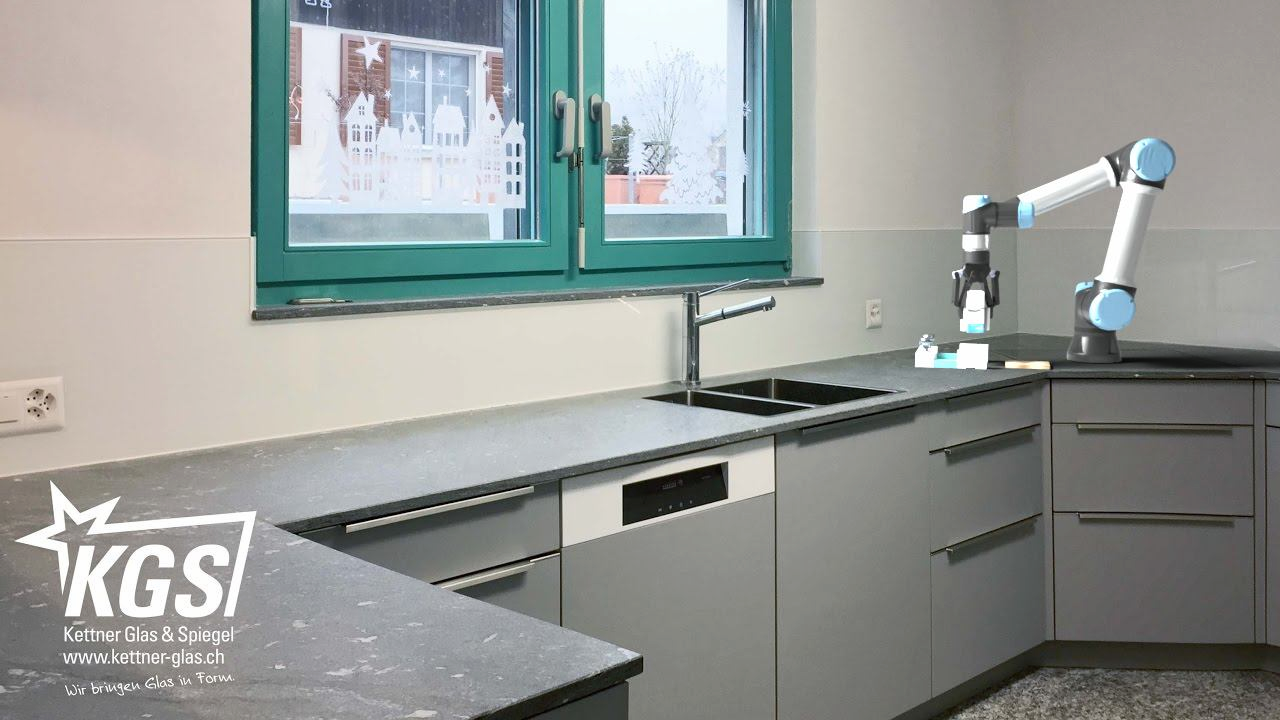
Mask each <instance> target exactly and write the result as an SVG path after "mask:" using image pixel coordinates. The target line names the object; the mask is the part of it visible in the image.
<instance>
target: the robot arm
mask: <svg viewBox="0 0 1280 720" xmlns="http://www.w3.org/2000/svg"><path fill="white" fill-rule="evenodd" d="M1176 157H1177V156H1176V153H1175V150H1174V149H1173V147H1172V146H1171V145H1170V143H1168V142H1167V141H1165V140H1163V139H1159V138H1156V137H1155V138H1153V137H1148V138H1142V139H1140V140H1135V141H1132V142H1129V143H1128V144H1126V145H1124V146H1122V147H1121V148H1119V149H1117V150H1115V151H1114V152H1111V153H1109V154H1106V155H1105V156H1102V157H1101V158H1100V159H1099V161H1098V162H1097V163H1096V162H1095V163H1094V164H1092V165H1089V166H1087V167H1084V168H1082V169H1080V170H1077V171H1075V172H1071V173H1070V174H1067V175H1065V176H1062V177H1060V178H1058V179H1055V180H1053V181H1050V182H1047V183H1046V184H1043V185H1041V186H1038V187H1036V188H1034V189H1030V190H1028V191H1026V192H1024V193H1020V194H1018V195H1016V196H1014V197H1011V198H1008V199H1007V200H1004V201H997V202H996V201H992V199H991V196H990V195H966V196H965V197H964V198H963V207H962V208H963V209H962V249H964V250H963V251H962V259H961V261H962V267H961V269H960V270H956V271H954V270H953V271H952V272H951V277H952V289H951V303H950V305H951V306H954V307H956V308H957V319H958V320H960V331H961V332H967V331H966V330H967V309H966V307H965V306H966V303H967V291H970V290H971V287H972V285H973V284H974V283H978V284H979V285H980V289H981V290H982V291H984V293H985V305H986V306H985V312H984V331H987V332H988V331H990V330H991V329H990V328H991V320H992V319H993V318H994V315H993V314H994V308H995V307H996V306H999V305H1000V302H1001V300H1000V282H999V278H1000V274H1001V271H1000V270H995V269H992V268H991V266H990V262H991V256H990V255H991V251H990V250H988V249H990V248H991V229H993V230H994V229H1020V230H1022V229H1030V228H1032V227H1033V226H1034V224H1035V218H1036V216H1038V215H1041V214H1044V213H1047V212H1049V211H1051V210H1054V209H1056V208H1059V207H1061V206H1064V205H1066V204H1068V203H1072V202H1074V201H1077V200H1079V199H1081V198H1083V197H1087V196H1089V195H1091V194H1094V193H1096V192H1100V191H1101V190H1104V189H1106V188H1112V189H1115V188H1118V187H1120V186H1121V188H1122V190H1123V191H1122V195H1121V199H1120V202H1119V207H1118V210H1117V214H1116V217H1115V222H1114V225H1113V229H1112V233H1111V235H1110V240H1109V244H1108V247H1107V251H1106V256H1105V259H1104V263H1103V267H1102V271H1101V273H1100V274H1098V275H1097V276H1095V277H1094V279H1093V281H1088V282H1087V281H1086V282H1079V283H1077V285H1076V289H1075V292H1074V296H1075V298H1074V300H1075V301H1074V303H1075V304H1074V323H1073V325H1074V326H1073V328H1074V329H1073V336H1072V338H1071V341H1070V344H1069V345H1068V348H1067V351H1066V360H1067V361H1071V362H1079V363H1092V364H1093V363H1095V364H1114V362H1115V363H1120V362H1122V352H1121V348H1120V347H1121V346H1120V344H1119V341H1118V337H1117V331H1119V330H1121V329H1123V328H1125V327H1127V326H1128V325H1129V324H1130V323H1131V322H1132V321H1133V319H1134V317H1135V315H1136V311H1137V305H1136V302H1135V296H1136V293H1137V289H1138V286H1137V284H1136V282H1135V281H1134V279H1135V275H1136V271H1137V266H1138V263H1139V259H1140V256H1141V254H1142V253H1141V252H1142V248H1143V245H1144V242H1145V237H1146V235H1147V234H1146V233H1147V230H1148V227H1149V223H1150V218H1151V216H1152V211H1153V207H1154V204H1155V200H1156V196H1158V195H1159V194H1161V193H1163V191H1164V189H1165V186H1166V181H1167V178H1168V177H1170V175H1172V172H1174V169H1175V167H1176V162H1177V161H1176V160H1177V158H1176ZM989 275H990V277H991V279H990V281H991V282H990V283H991V285H990V286H991V291H990V289H989V282H988V280H987V278H988V276H989ZM962 276H963V277H964V278H965V279H964V281H963V287H962V289H961V278H962ZM960 289H961V292H960Z"/></svg>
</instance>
